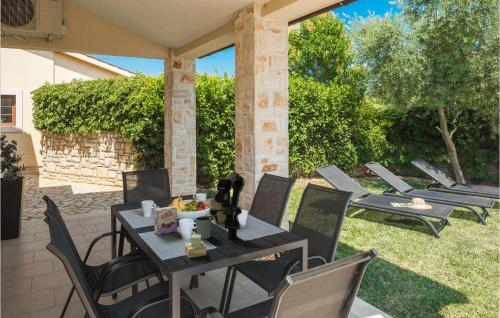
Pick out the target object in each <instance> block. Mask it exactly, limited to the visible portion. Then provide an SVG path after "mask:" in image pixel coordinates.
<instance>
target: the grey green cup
mask: <svg viewBox="0 0 500 318" xmlns="http://www.w3.org/2000/svg"><path fill="white" fill-rule="evenodd" d="M195 226H196V235H201V240H202V239H204V240H205V239H209V238H211V235H212V233H211V232H212V230H211V229H212V216H211V217H210V216H208V215H207V216H204V215H203V216H197V217H195Z"/></svg>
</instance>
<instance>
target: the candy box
mask: <svg viewBox="0 0 500 318" xmlns="http://www.w3.org/2000/svg"><path fill="white" fill-rule="evenodd" d="M177 209H178V208H177V207H176V206H174V205H172V206H166V207H160V208H159V207H158V208H153V212H154V213H153V215H154V216H153V217H154V218H153V219H154V220H153V221H154V223H153V224H154V228H153V229H154V231H153V232H154V234H156V236H160V235H165V234H166V235H167V234H170V233H175V232H178V210H177Z"/></svg>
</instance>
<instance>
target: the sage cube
mask: <svg viewBox="0 0 500 318" xmlns="http://www.w3.org/2000/svg"><path fill="white" fill-rule="evenodd" d="M190 239H191V241H190V243H191V247H194V246H201V241H202V239H201V235H197V234H192V235H191V237H190Z"/></svg>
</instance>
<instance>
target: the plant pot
mask: <svg viewBox="0 0 500 318" xmlns="http://www.w3.org/2000/svg"><path fill="white" fill-rule="evenodd" d="M209 204H210V205H209V207H210V208H216V210H221V203H217V202H216V201H215V198H212V199H209ZM212 218H213V221H214V223H216V219H215V217H214V216H212ZM217 218H218V224H222V223H224V221H225V219H226V215H223V213H217Z"/></svg>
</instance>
